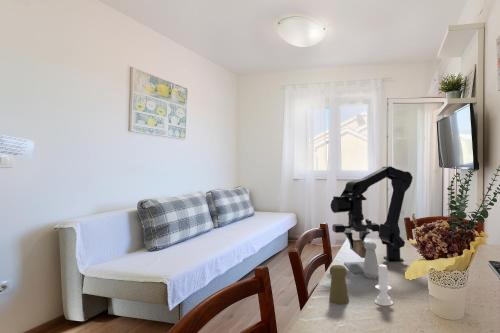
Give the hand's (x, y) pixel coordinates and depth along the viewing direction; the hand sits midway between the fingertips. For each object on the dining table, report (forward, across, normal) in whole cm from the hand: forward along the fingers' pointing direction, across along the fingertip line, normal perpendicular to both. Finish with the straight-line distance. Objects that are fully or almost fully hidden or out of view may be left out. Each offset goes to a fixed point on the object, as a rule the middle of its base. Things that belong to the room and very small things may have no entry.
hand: (356, 248), depth 154 cm
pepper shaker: (+7, -18, -39) cm, 44 cm away
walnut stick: (+1, 0, -4) cm, 4 cm away
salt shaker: (+7, 0, -17) cm, 19 cm away
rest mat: (+7, 0, -5) cm, 9 cm away
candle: (+7, -5, -42) cm, 43 cm away
